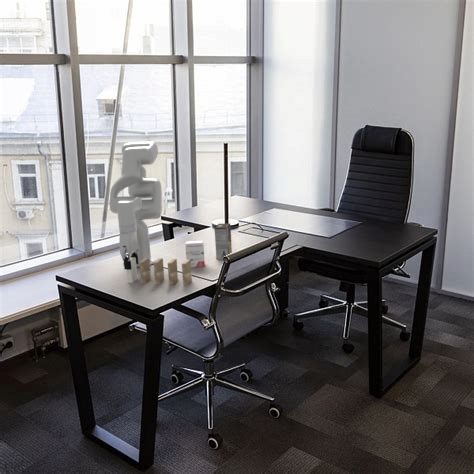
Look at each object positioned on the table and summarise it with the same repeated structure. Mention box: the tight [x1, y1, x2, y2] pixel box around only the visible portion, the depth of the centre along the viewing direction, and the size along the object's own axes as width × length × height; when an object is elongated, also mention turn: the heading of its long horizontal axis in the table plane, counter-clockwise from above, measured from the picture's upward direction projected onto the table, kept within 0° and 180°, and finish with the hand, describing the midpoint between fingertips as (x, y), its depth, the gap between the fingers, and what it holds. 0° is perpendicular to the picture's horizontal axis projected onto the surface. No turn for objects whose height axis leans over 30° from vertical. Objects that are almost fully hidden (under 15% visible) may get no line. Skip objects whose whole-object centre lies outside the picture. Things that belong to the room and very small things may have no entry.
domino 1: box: [139, 258, 152, 284], centre depth 264 cm, size 2×6×10 cm, turn 166°
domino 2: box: [153, 258, 165, 285], centre depth 263 cm, size 2×6×10 cm, turn 166°
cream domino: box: [126, 257, 138, 284], centre depth 266 cm, size 2×6×10 cm, turn 166°
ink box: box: [184, 240, 206, 268], centre depth 282 cm, size 8×5×12 cm, turn 96°
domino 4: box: [181, 258, 193, 287], centre depth 259 cm, size 2×6×10 cm, turn 166°
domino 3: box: [167, 258, 179, 286], centre depth 261 cm, size 2×6×10 cm, turn 166°
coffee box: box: [214, 223, 233, 260], centre depth 293 cm, size 9×6×16 cm
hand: (131, 266), depth 265 cm, fingers open, 7 cm apart
